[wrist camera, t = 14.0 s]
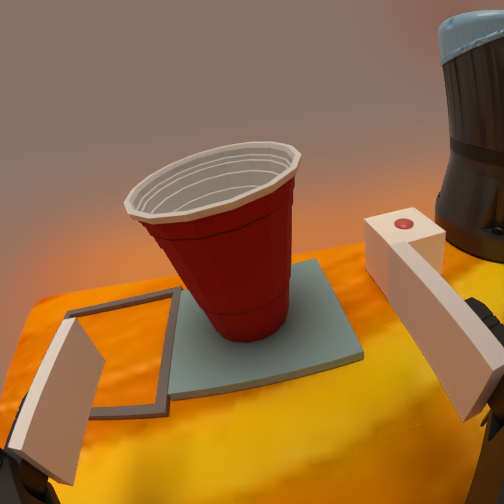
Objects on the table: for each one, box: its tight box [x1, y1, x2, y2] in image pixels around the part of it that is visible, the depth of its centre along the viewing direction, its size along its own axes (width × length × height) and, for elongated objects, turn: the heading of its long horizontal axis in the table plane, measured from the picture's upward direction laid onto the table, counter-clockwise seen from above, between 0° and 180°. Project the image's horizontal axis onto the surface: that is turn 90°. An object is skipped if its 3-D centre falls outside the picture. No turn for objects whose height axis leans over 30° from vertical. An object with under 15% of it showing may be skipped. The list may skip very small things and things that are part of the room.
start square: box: [29, 286, 183, 420], centre depth 24 cm, size 15×15×1 cm
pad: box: [168, 259, 364, 400], centre depth 24 cm, size 13×12×1 cm
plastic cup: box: [124, 142, 301, 343], centre depth 20 cm, size 11×11×12 cm
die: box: [364, 207, 446, 298], centre depth 23 cm, size 5×5×5 cm
